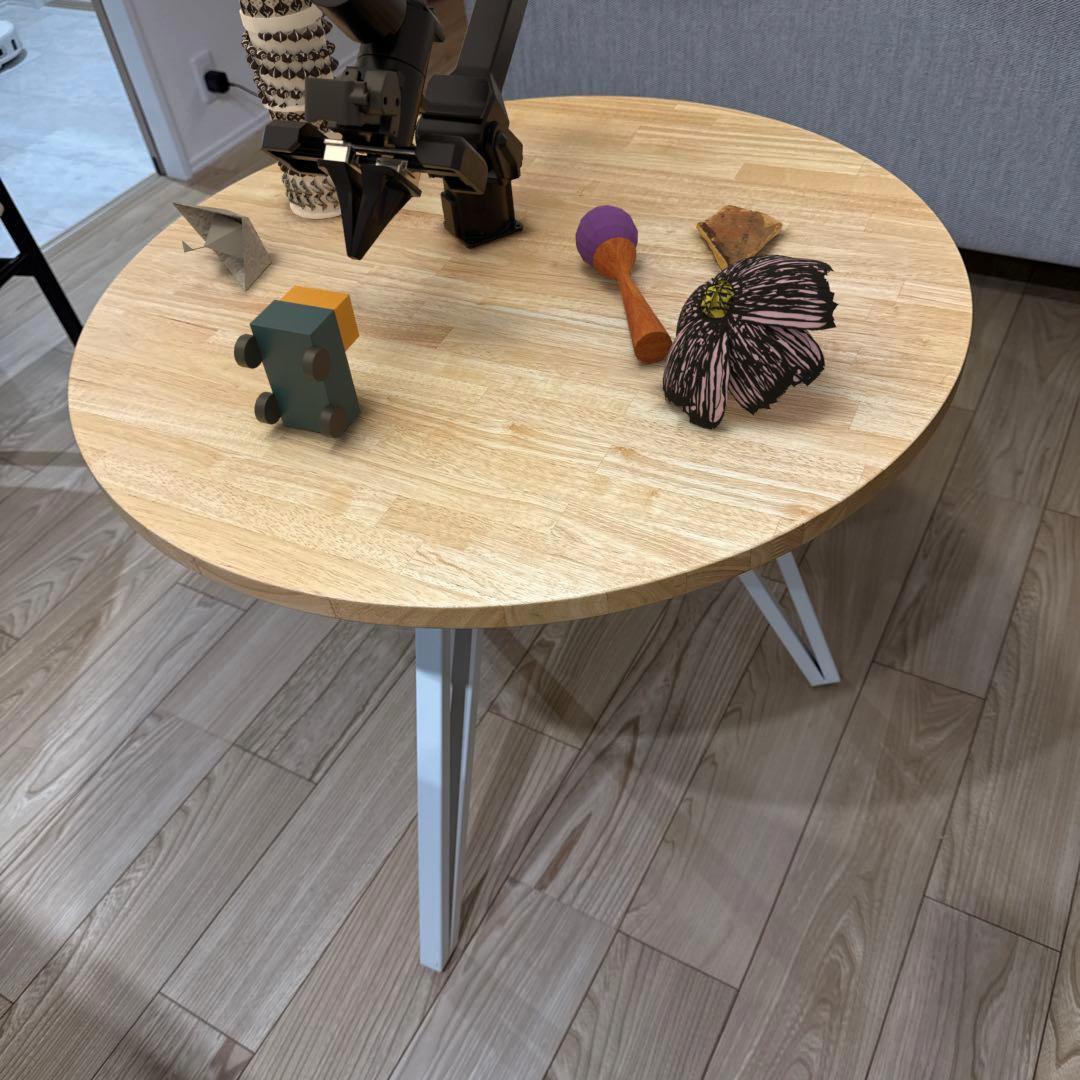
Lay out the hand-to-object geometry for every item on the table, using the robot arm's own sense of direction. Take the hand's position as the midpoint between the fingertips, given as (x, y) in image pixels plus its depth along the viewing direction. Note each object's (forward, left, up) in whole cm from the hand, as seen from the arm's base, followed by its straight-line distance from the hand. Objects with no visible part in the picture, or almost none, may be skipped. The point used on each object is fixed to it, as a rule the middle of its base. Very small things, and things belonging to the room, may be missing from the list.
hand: (353, 258), depth 83 cm
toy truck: (+8, +6, -10) cm, 14 cm away
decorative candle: (-8, -31, -10) cm, 34 cm away
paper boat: (+6, -24, -10) cm, 27 cm away
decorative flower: (-24, +23, -10) cm, 34 cm away
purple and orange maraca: (-23, +7, -10) cm, 25 cm away
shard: (-38, +6, -10) cm, 39 cm away
